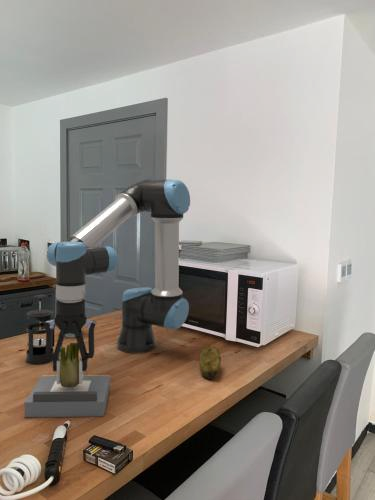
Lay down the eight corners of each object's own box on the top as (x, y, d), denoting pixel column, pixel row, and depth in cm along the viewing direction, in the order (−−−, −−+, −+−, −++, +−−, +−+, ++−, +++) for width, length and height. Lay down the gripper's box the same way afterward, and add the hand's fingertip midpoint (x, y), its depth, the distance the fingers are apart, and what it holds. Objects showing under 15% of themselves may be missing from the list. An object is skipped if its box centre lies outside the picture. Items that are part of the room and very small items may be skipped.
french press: (39, 367, 133) (39, 300, 130) (18, 362, 136) (17, 296, 134) (63, 355, 144) (63, 293, 141) (42, 351, 147) (42, 290, 145)
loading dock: (109, 387, 120) (110, 368, 120) (103, 416, 104) (104, 394, 103) (41, 387, 118) (41, 368, 118) (24, 417, 102) (24, 395, 101)
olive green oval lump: (191, 378, 129) (192, 354, 128) (202, 364, 141) (203, 342, 140) (216, 383, 126) (217, 358, 126) (225, 368, 139) (226, 345, 138)
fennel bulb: (60, 391, 106) (60, 347, 105) (58, 383, 111) (58, 341, 109) (82, 387, 108) (82, 345, 107) (79, 380, 113) (79, 339, 112)
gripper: (106, 296, 111) (105, 376, 114) (39, 295, 110) (39, 376, 112) (103, 303, 104) (102, 387, 107) (31, 302, 102) (32, 388, 105)
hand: (70, 381), depth 109 cm, fingers open, 5 cm apart
